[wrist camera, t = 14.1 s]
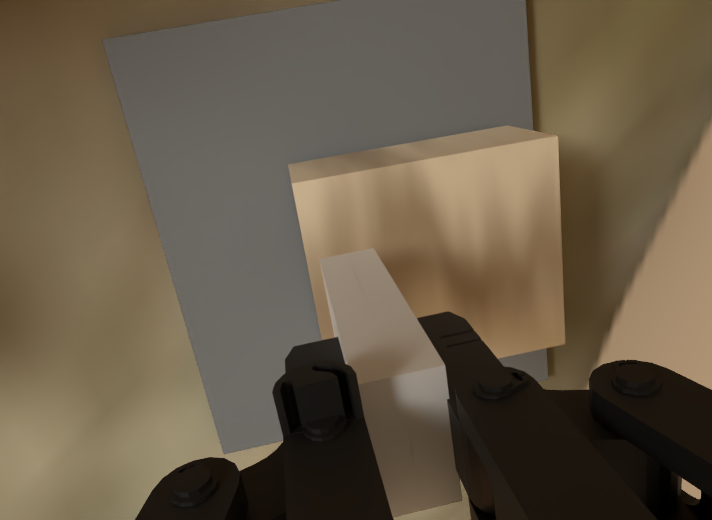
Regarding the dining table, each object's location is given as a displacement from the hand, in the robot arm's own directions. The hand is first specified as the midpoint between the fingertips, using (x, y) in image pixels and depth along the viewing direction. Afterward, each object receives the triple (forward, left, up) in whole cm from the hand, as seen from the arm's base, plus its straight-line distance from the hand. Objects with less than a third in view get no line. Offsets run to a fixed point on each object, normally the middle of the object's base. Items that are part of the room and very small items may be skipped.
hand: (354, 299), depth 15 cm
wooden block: (0, -1, -4) cm, 4 cm away
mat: (0, +1, -6) cm, 6 cm away
